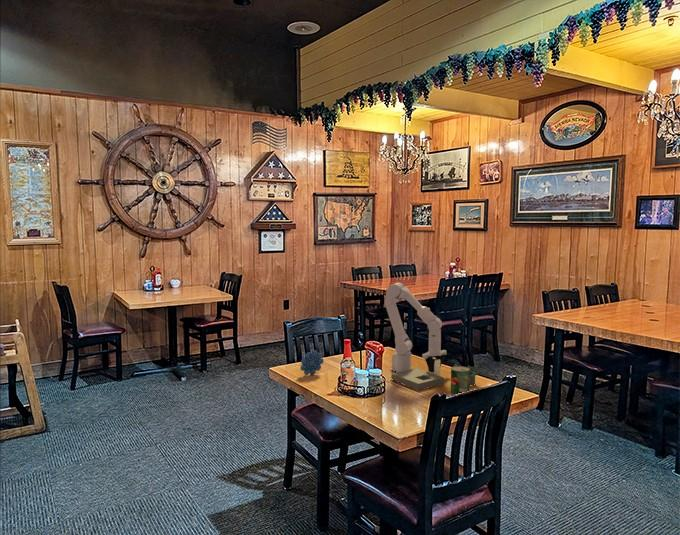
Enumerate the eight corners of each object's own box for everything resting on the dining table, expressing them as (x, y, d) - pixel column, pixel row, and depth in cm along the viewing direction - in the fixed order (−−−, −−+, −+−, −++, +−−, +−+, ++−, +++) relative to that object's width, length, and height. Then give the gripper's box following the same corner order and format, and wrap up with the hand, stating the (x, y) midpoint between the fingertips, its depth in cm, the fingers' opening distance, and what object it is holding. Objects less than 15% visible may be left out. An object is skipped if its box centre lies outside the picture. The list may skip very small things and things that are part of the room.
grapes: (320, 371, 248) (320, 347, 247) (325, 375, 241) (325, 350, 240) (298, 373, 244) (298, 349, 243) (301, 377, 237) (301, 352, 236)
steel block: (428, 374, 242) (428, 358, 241) (434, 373, 244) (434, 357, 243) (434, 376, 239) (434, 360, 238) (440, 375, 241) (440, 359, 240)
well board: (391, 379, 234) (391, 373, 233) (416, 374, 243) (416, 368, 243) (418, 390, 219) (418, 383, 219) (443, 383, 228) (444, 377, 228)
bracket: (479, 384, 227) (480, 365, 227) (464, 387, 223) (465, 368, 222) (465, 379, 235) (465, 360, 235) (450, 382, 231) (451, 363, 230)
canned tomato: (446, 392, 216) (447, 367, 215) (458, 389, 221) (458, 364, 220) (461, 397, 210) (461, 372, 209) (473, 394, 214) (473, 368, 214)
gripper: (429, 347, 233) (429, 375, 234) (451, 343, 241) (450, 370, 242) (419, 344, 238) (418, 372, 240) (440, 340, 247) (440, 367, 248)
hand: (434, 371), depth 241 cm, fingers closed on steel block, 4 cm apart
